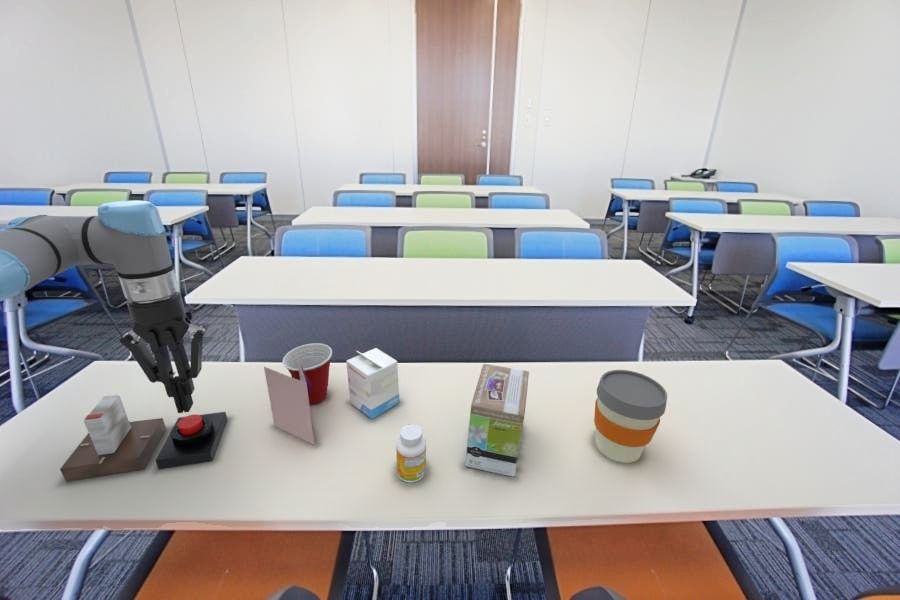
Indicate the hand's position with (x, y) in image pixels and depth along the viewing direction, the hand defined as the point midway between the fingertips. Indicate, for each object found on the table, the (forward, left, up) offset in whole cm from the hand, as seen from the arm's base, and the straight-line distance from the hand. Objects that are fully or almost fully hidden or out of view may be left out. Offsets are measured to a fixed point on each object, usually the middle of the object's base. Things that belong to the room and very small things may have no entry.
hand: (185, 407), depth 76 cm
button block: (0, 0, -9) cm, 9 cm away
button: (0, 0, -5) cm, 5 cm away
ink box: (+36, +5, -9) cm, 37 cm away
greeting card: (+19, -1, -9) cm, 21 cm away
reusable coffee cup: (+84, -20, -9) cm, 87 cm away
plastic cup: (+22, +10, -9) cm, 26 cm away
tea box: (+59, -14, -9) cm, 61 cm away
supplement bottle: (+41, -17, -9) cm, 45 cm away
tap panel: (-13, 0, -9) cm, 16 cm away
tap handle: (-13, 0, -6) cm, 14 cm away
